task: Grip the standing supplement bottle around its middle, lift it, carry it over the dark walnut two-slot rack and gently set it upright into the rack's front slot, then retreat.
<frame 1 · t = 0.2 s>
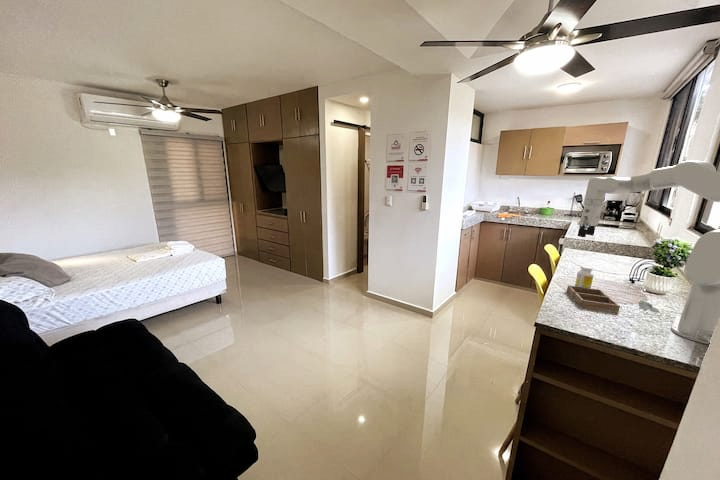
hand: (585, 235, 142), 30 cm above the counter, tool pointing down, fingers open, 9 cm apart
rack: (590, 301, 136), on the counter
supplement bottle: (581, 290, 150), on the counter
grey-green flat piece: (646, 312, 127), on the counter
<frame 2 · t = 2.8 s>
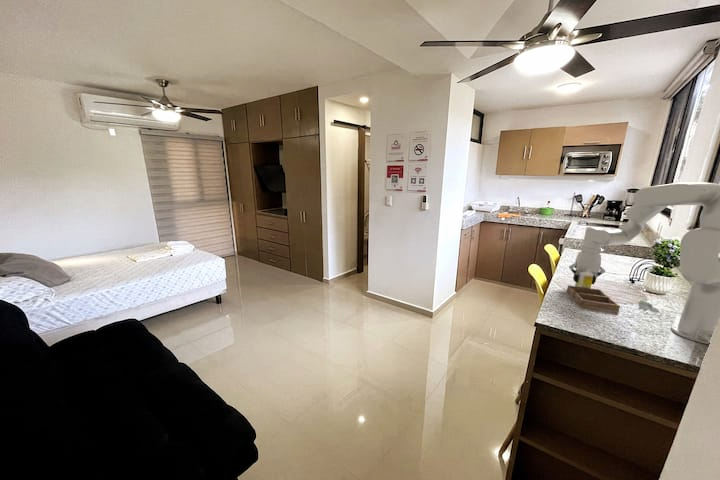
hand: (583, 282, 149), 4 cm above the counter, tool pointing down, fingers closed on supplement bottle, 6 cm apart
supplement bottle: (582, 289, 150), on the counter, touching gripper
everything else where it was.
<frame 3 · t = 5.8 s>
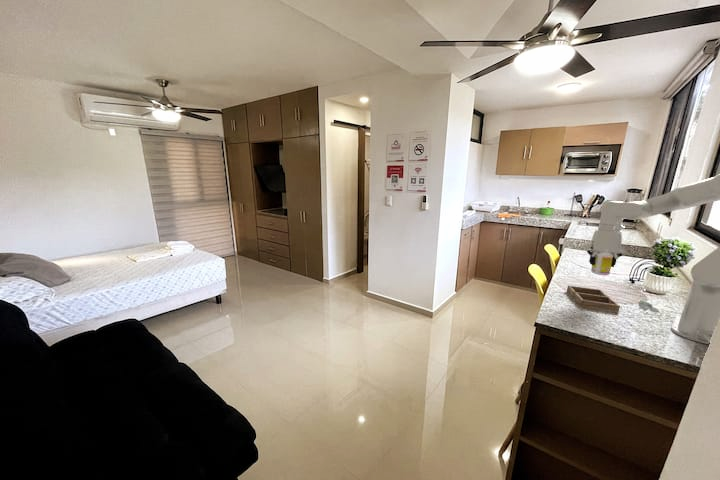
hand: (601, 265, 130), 19 cm above the counter, tool pointing down, fingers closed on supplement bottle, 6 cm apart
supplement bottle: (599, 273, 131), point 15 cm above the counter, touching gripper
everything else where it was.
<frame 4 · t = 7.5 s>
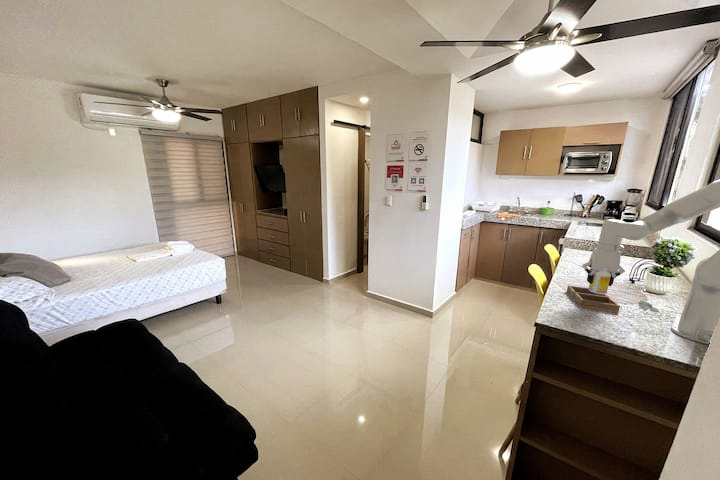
hand: (599, 283, 129), 11 cm above the counter, tool pointing down, fingers closed on supplement bottle, 6 cm apart
supplement bottle: (596, 292, 130), point 7 cm above the counter, touching gripper
everything else where it was.
when the fingers open (6 cm above the counter, at t = 9.0 s): supplement bottle stays where it is, resting on rack.
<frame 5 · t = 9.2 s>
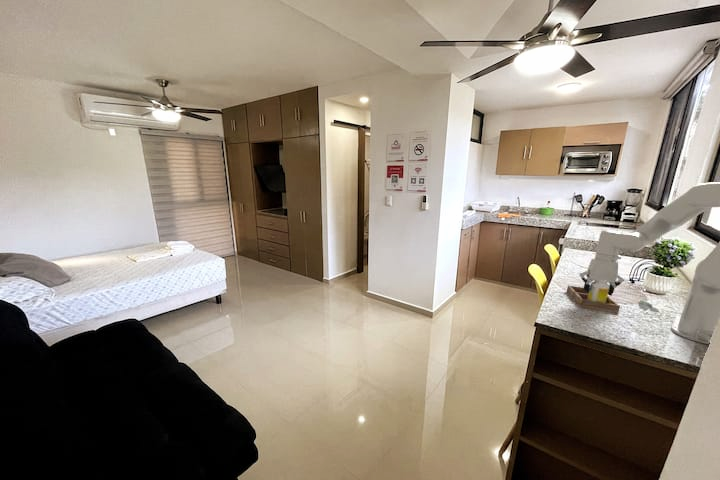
hand: (597, 292, 130), 6 cm above the counter, tool pointing down, fingers open, 8 cm apart
supplement bottle: (595, 304, 131), point 1 cm above the counter, touching rack
everything else where it was.
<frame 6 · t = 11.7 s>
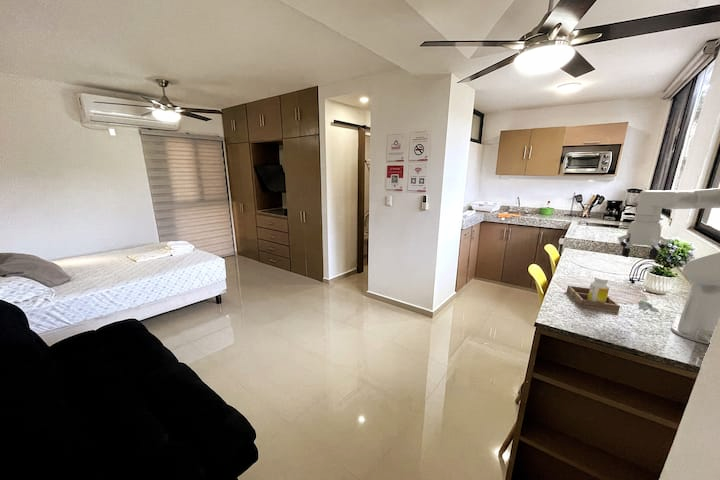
hand: (638, 257, 123), 25 cm above the counter, tool pointing down, fingers open, 9 cm apart
nothing on the counter moved.
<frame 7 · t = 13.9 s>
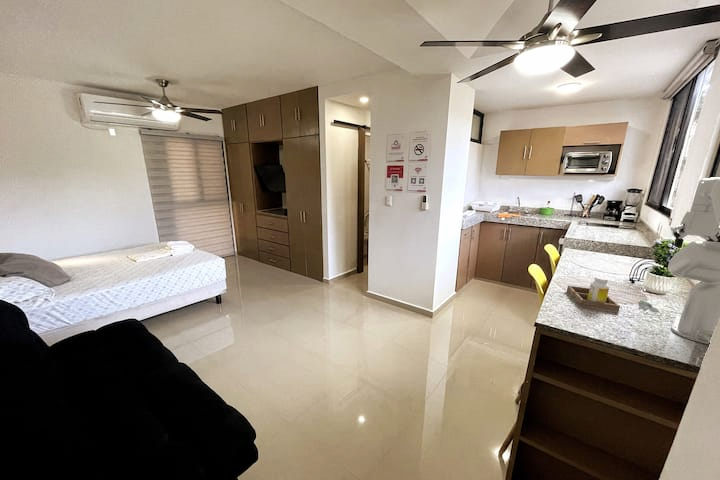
hand: (692, 248, 119), 30 cm above the counter, tool pointing down, fingers open, 9 cm apart
nothing on the counter moved.
at the end: supplement bottle inside the target area on the rack (0.2 cm from its centre), point 0.8 cm above the rack's base; supplement bottle tilted 0°; the gripper is holding nothing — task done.
